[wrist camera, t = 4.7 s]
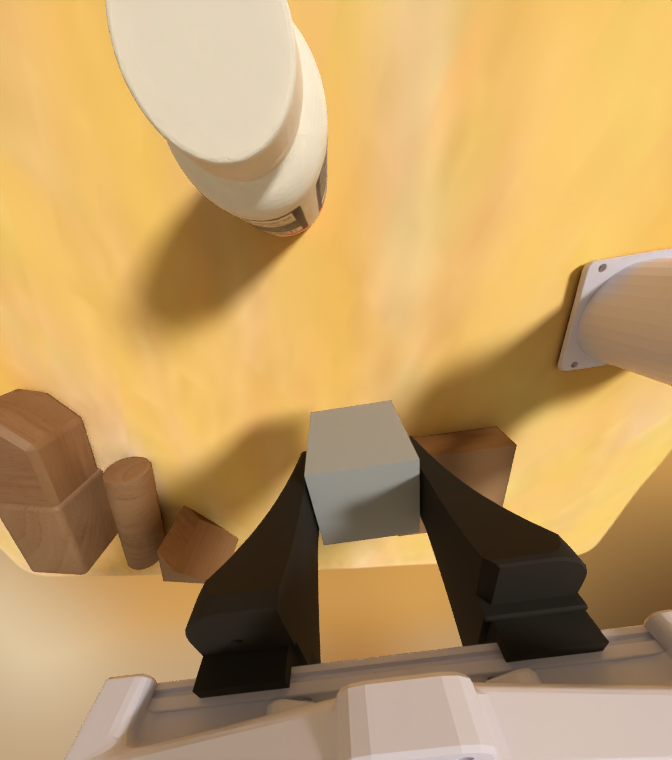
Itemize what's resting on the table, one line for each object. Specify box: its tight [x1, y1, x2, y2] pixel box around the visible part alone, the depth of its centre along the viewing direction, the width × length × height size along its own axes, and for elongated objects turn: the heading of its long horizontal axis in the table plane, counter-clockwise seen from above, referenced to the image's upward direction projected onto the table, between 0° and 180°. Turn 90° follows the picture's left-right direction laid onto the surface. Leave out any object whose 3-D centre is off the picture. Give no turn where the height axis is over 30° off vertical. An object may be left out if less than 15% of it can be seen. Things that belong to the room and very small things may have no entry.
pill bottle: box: [106, 0, 328, 237], centre depth 10 cm, size 5×5×10 cm
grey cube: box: [304, 400, 420, 545], centre depth 12 cm, size 4×4×4 cm
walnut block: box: [398, 426, 517, 536], centre depth 23 cm, size 10×10×3 cm
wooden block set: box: [0, 389, 238, 583], centre depth 21 cm, size 17×6×18 cm
